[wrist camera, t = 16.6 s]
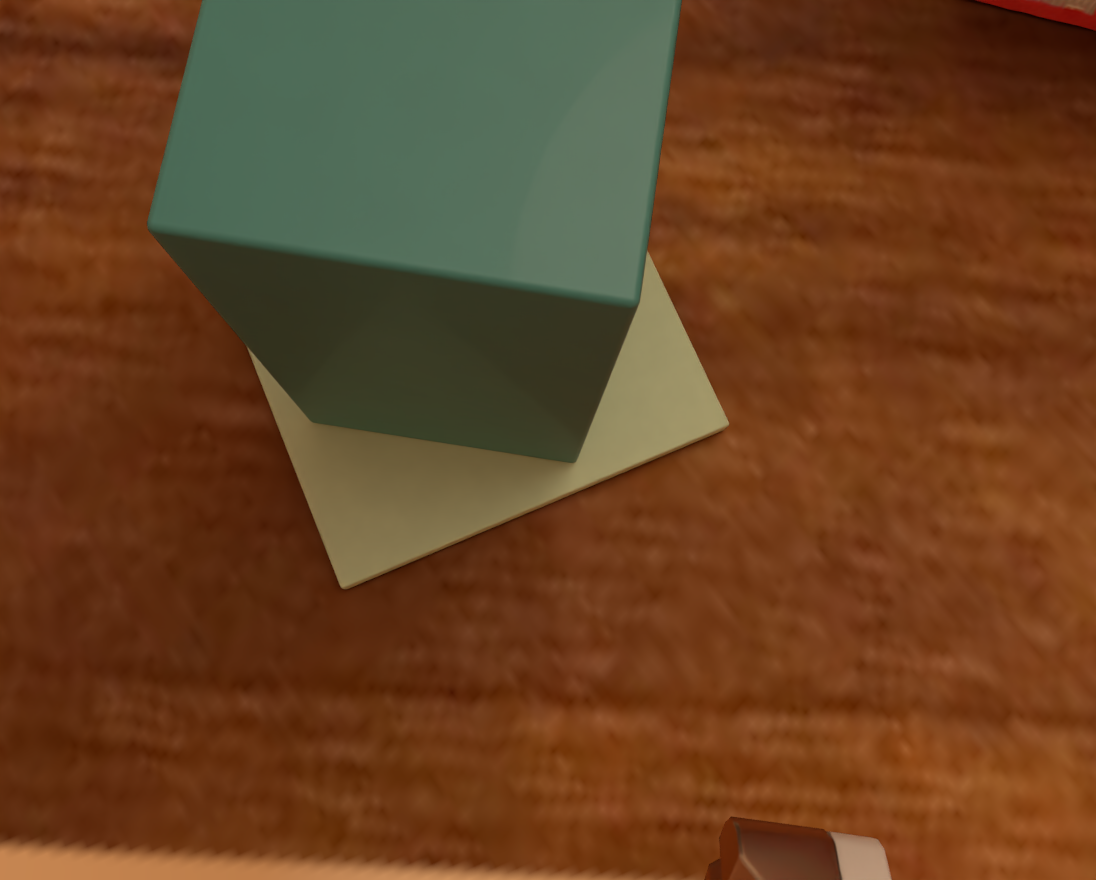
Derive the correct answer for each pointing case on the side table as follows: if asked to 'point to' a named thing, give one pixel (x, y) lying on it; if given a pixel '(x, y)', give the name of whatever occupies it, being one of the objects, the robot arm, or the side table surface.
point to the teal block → (424, 204)
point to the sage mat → (491, 455)
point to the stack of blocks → (1054, 10)
